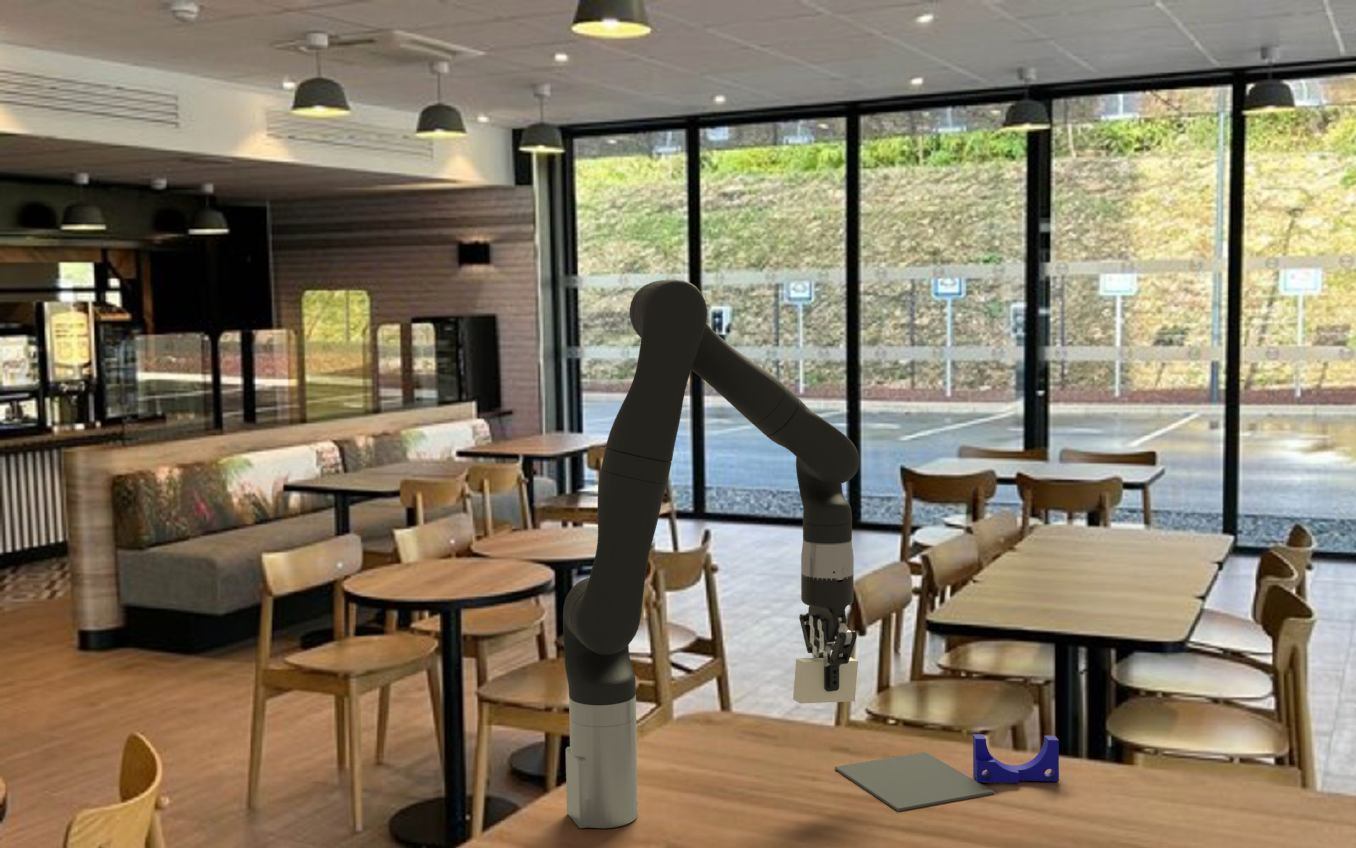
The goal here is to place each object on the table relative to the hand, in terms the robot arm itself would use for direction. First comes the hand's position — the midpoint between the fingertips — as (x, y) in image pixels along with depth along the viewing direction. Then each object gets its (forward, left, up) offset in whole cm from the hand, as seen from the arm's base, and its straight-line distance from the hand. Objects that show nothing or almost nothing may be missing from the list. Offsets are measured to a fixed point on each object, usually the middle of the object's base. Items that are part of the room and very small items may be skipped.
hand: (827, 687), depth 192 cm
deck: (0, 0, -2) cm, 2 cm away
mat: (+13, -3, -15) cm, 20 cm away
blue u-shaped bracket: (+27, -9, -15) cm, 32 cm away
